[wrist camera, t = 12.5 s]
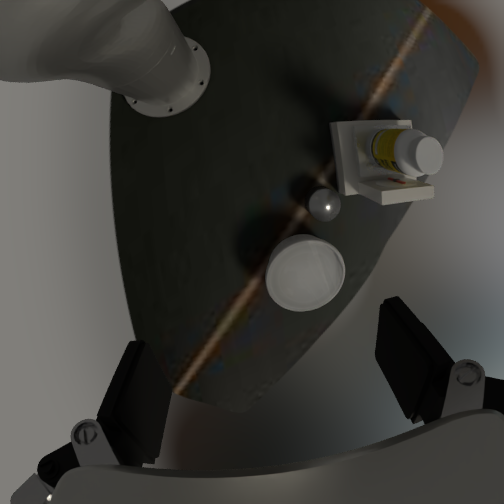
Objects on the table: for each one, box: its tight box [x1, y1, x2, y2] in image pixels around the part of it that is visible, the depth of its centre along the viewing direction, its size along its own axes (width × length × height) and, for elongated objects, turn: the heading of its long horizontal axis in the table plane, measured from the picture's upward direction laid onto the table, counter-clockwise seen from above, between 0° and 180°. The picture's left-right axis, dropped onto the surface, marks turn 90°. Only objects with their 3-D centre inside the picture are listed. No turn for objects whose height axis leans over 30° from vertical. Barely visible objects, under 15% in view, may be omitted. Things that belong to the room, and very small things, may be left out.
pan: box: [352, 125, 411, 177], centre depth 32 cm, size 7×9×2 cm
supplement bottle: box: [370, 129, 443, 177], centre depth 27 cm, size 5×5×10 cm
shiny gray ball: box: [305, 186, 341, 221], centre depth 38 cm, size 4×4×3 cm
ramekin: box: [265, 234, 345, 311], centre depth 40 cm, size 11×11×5 cm
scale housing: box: [329, 120, 434, 205], centre depth 32 cm, size 10×12×10 cm
